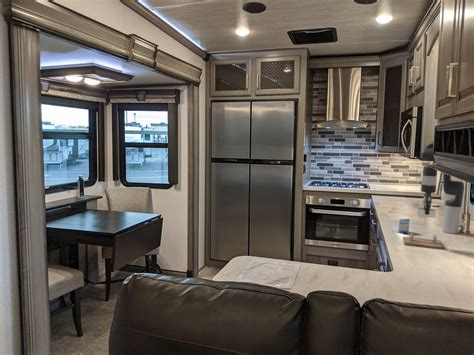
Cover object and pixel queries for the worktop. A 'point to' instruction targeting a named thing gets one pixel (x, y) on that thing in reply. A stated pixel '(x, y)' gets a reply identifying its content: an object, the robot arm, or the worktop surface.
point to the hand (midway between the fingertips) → (426, 213)
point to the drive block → (422, 213)
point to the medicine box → (401, 225)
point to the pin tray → (423, 242)
